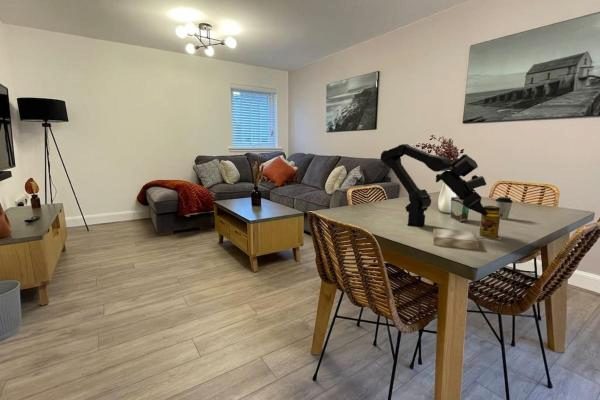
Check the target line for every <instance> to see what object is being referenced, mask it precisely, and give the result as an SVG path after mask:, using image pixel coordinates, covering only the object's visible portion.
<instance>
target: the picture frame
mask: <svg viewBox="0 0 600 400" xmlns="http://www.w3.org/2000/svg"><path fill="white" fill-rule="evenodd" d="M432 240H433V242H432V244H433V246H434V245H435V246H440V245H441V247H449V248H459V249H467V250H477V251H479V244H480V242H479V240H478V238H477V236H476V234H475V232H473V231H466V230H465V231H464V230H455V229H443V228H433V231H432Z"/></svg>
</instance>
